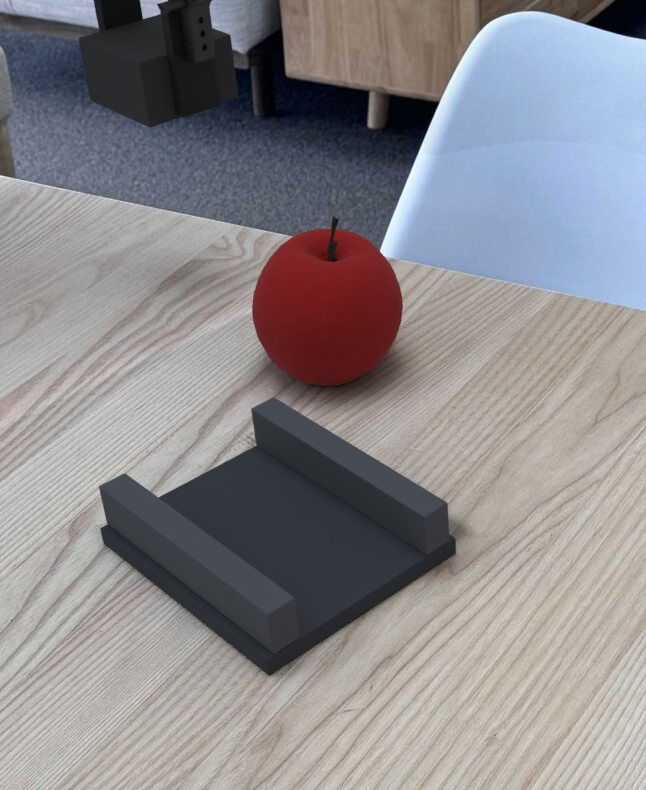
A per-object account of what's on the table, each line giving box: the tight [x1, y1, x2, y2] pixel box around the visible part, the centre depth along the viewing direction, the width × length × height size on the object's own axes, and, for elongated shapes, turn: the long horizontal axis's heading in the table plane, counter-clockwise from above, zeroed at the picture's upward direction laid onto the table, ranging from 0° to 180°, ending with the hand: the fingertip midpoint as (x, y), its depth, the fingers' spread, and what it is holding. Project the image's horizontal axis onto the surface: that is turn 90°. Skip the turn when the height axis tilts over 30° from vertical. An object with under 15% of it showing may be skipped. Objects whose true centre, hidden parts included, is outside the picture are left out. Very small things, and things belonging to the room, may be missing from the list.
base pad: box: [98, 397, 457, 676], centre depth 71 cm, size 14×12×4 cm
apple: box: [251, 215, 404, 387], centre depth 84 cm, size 9×9×10 cm
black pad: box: [78, 13, 239, 129], centre depth 85 cm, size 6×6×4 cm
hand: (163, 94), depth 86 cm, fingers closed on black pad, 6 cm apart
